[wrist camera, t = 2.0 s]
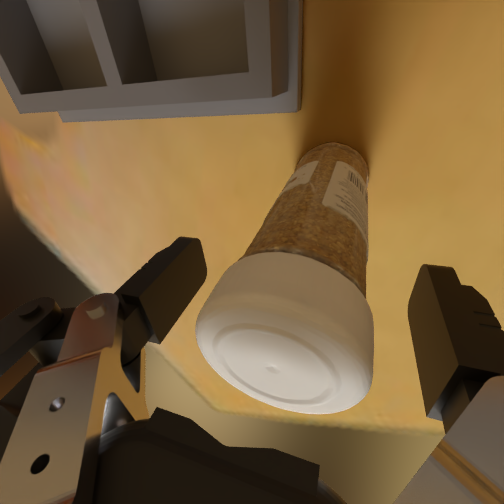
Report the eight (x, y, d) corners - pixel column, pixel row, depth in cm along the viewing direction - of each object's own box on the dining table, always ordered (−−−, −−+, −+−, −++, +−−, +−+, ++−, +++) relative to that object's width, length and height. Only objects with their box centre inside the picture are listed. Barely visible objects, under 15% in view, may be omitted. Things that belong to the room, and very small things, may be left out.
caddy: (308, -264, 9) (276, -435, 6) (300, 109, 15) (283, 122, 12) (-19, -100, 14) (-122, -142, 11) (74, 120, 21) (23, 130, 18)
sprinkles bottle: (290, 148, 16) (161, 295, 6) (369, 134, 14) (374, 311, 4) (300, 214, 19) (219, 400, 8) (370, 209, 17) (374, 441, 7)
